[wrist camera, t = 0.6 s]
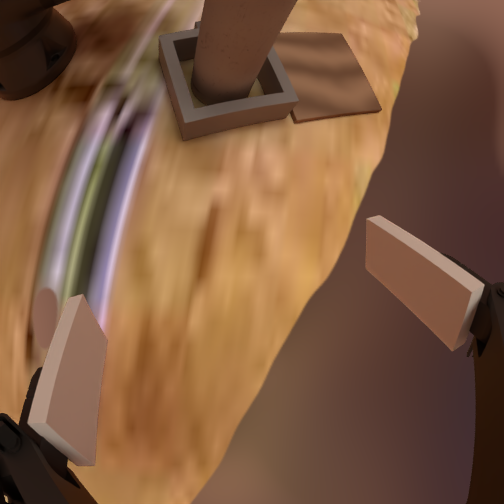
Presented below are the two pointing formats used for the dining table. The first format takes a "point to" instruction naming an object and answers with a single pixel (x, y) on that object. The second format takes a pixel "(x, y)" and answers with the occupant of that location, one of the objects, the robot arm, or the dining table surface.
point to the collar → (227, 113)
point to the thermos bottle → (234, 46)
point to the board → (324, 76)
